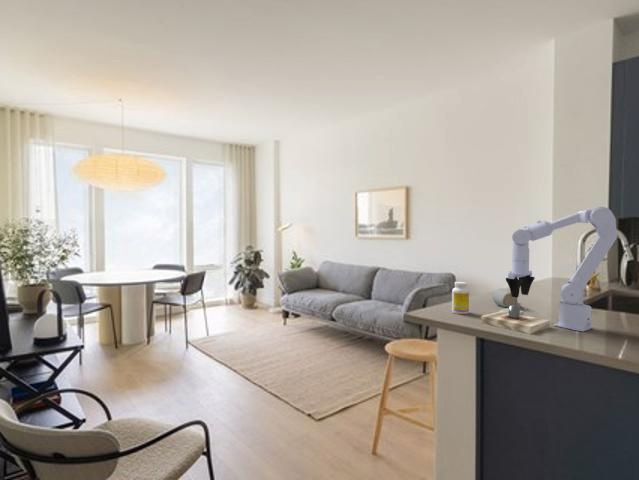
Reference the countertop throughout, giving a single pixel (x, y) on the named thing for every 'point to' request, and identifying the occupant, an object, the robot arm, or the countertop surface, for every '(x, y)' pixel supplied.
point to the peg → (514, 312)
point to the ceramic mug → (504, 298)
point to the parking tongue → (508, 311)
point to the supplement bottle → (460, 298)
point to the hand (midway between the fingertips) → (519, 295)
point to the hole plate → (515, 322)
